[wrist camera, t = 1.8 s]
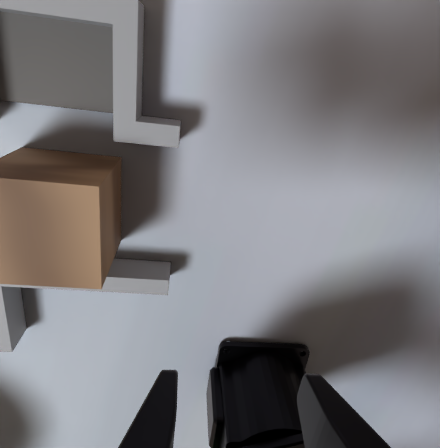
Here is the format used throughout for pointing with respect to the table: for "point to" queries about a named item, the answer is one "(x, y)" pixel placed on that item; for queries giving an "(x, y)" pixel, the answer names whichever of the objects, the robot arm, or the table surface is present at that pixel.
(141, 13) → the trap lane
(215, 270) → the table surface
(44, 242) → the walnut block
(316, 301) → the table surface
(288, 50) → the table surface
